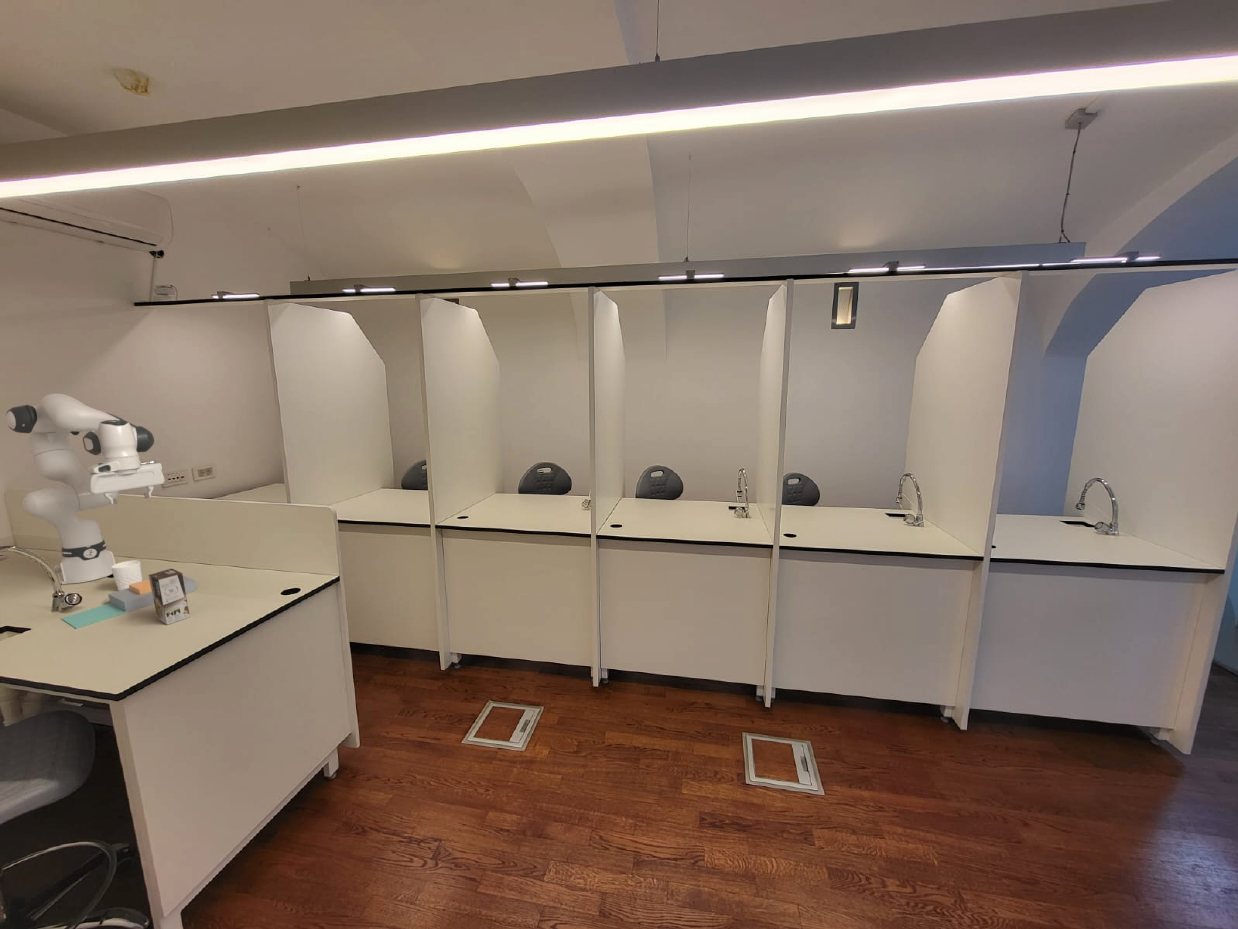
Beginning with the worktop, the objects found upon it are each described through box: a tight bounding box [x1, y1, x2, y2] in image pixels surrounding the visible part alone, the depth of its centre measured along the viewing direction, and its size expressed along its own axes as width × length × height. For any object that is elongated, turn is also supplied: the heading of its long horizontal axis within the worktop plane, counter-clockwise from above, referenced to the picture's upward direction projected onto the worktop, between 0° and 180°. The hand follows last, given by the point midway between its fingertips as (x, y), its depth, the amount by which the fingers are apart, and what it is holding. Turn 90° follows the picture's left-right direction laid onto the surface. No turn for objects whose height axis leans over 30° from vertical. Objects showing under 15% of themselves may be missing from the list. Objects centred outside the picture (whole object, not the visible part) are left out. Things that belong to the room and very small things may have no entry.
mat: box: [60, 603, 126, 629], centre depth 163 cm, size 14×12×1 cm
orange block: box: [129, 578, 152, 595], centre depth 175 cm, size 9×6×2 cm, turn 63°
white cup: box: [111, 559, 143, 591], centre depth 184 cm, size 8×8×10 cm
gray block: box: [107, 575, 198, 614], centre depth 177 cm, size 14×20×4 cm
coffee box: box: [148, 568, 191, 625], centre depth 160 cm, size 9×6×16 cm
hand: (131, 500), depth 176 cm, fingers open, 8 cm apart
